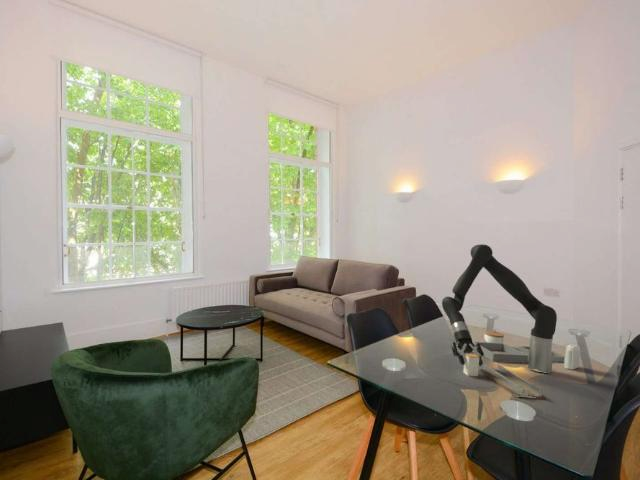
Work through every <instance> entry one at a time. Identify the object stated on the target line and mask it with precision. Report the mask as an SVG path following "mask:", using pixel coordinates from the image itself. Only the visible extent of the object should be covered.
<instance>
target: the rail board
mask: <svg viewBox="0 0 640 480" xmlns="http://www.w3.org/2000/svg"><path fill="white" fill-rule="evenodd" d="M479 373H481V374H483V375H484V376H486V377H487V378H489V380H491V381H493V382H494V383H495V384H497V385H498V386H500V387H501V388H503V389H504V390H506V391H507V392H508V391H509V392H508V393H510V392H511V393H514V394H516V395H518V396H521V395H524V393H525V389H523V388H524V387H525V388H527V389H529V390H530V391H531V395H529V394H530V393H529V394H528V396H532V397H536V398H541V399H540V400H545V399H546V396H545V395H544V394H543V389H541V388H539V387H537V386H536V385H535V384H533V383H531V382H529V381H528V380H526V379H524V378H522V376H519V375H518V374H516V373H514V372H513V371H511V370H509V369H507V368H506V367H504V366H503V365H501V364H498V365H497V369H493V368H492V367H490V366H489V365H488V364H484V363H483V364H482V369H479ZM511 393H510V394H511Z"/></svg>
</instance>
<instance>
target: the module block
mask: <svg viewBox="0 0 640 480" xmlns="http://www.w3.org/2000/svg"><path fill="white" fill-rule="evenodd" d="M464 361H465V364H464V365H463V372H462V373H463V374H465V375H466V376H467V377H478V376H479V367H480V366H479V356H477V355H476V354H471V353H464Z"/></svg>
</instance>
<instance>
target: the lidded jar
mask: <svg viewBox="0 0 640 480" xmlns="http://www.w3.org/2000/svg"><path fill="white" fill-rule="evenodd" d="M483 336H484V337H483V338H484V342H488V343H504V342H503V341H504V337H505V335H504V333H501V332H498V331H496V330H485V331H484V335H483Z"/></svg>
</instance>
